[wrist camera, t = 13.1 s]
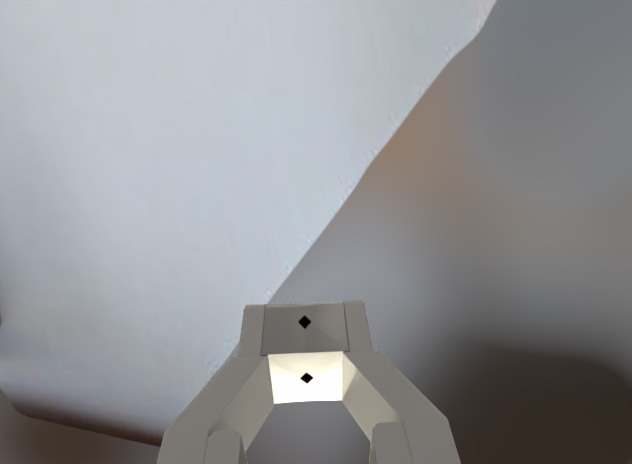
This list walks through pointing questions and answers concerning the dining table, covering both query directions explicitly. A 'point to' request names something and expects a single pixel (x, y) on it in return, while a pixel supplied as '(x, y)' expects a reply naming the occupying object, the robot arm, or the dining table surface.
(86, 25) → the dining table surface
